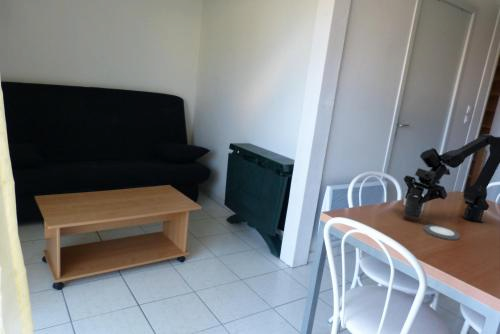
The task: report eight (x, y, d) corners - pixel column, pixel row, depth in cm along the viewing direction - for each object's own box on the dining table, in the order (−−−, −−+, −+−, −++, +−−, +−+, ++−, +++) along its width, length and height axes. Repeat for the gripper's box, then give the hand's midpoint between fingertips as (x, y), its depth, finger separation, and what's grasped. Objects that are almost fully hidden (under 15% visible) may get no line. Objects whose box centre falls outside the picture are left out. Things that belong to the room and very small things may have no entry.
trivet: (448, 228, 153) (449, 226, 153) (466, 241, 140) (467, 239, 140) (418, 225, 152) (418, 223, 152) (433, 238, 140) (433, 235, 140)
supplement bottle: (422, 219, 154) (427, 191, 152) (405, 216, 156) (410, 189, 153) (418, 213, 161) (423, 187, 158) (401, 211, 162) (407, 185, 160)
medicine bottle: (417, 206, 180) (422, 183, 177) (423, 211, 173) (428, 187, 170) (403, 204, 180) (407, 181, 178) (407, 209, 173) (412, 185, 171)
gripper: (410, 157, 163) (388, 182, 160) (449, 168, 147) (425, 195, 144) (418, 174, 168) (397, 198, 166) (456, 185, 153) (434, 212, 150)
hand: (412, 200), depth 156 cm, fingers closed on supplement bottle, 7 cm apart
